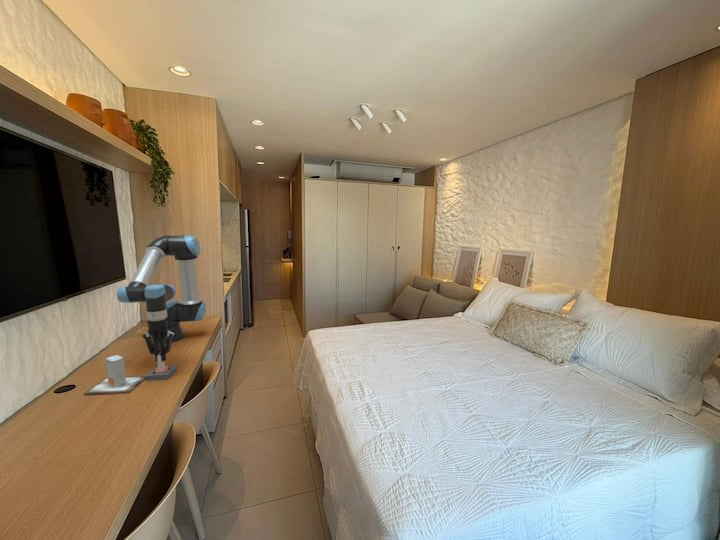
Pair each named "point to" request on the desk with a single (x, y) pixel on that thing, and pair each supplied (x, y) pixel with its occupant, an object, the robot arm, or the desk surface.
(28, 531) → the desk surface
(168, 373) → the button base
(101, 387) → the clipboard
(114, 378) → the skincare box
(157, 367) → the button
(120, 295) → the robot arm
